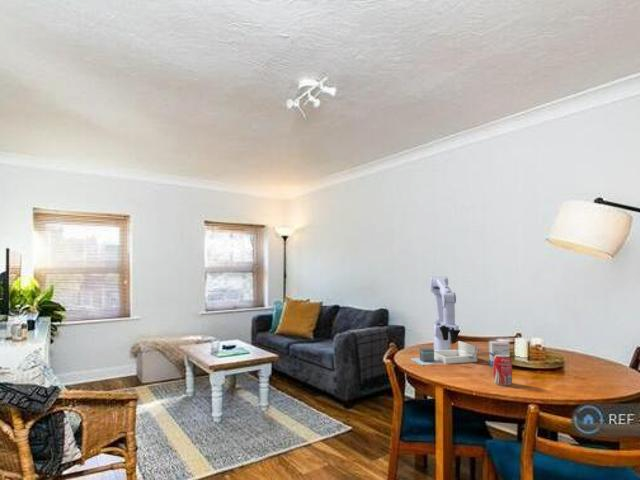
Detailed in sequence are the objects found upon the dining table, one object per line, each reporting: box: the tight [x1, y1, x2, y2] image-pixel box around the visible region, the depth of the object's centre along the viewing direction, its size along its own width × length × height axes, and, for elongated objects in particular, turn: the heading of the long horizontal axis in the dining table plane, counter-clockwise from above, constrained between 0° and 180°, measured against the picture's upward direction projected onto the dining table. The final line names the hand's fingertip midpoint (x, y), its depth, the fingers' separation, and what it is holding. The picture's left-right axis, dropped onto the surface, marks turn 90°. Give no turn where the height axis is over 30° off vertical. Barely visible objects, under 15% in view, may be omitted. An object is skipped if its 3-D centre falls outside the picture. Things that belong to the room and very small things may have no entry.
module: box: [418, 347, 435, 362], centre depth 202 cm, size 4×6×6 cm
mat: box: [410, 357, 443, 367], centre depth 202 cm, size 13×11×1 cm
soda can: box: [492, 354, 513, 387], centre depth 166 cm, size 7×7×12 cm
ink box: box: [488, 340, 511, 367], centre depth 194 cm, size 9×5×12 cm, turn 84°
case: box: [434, 340, 480, 365], centre depth 205 cm, size 17×18×8 cm
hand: (449, 341), depth 207 cm, fingers open, 7 cm apart
